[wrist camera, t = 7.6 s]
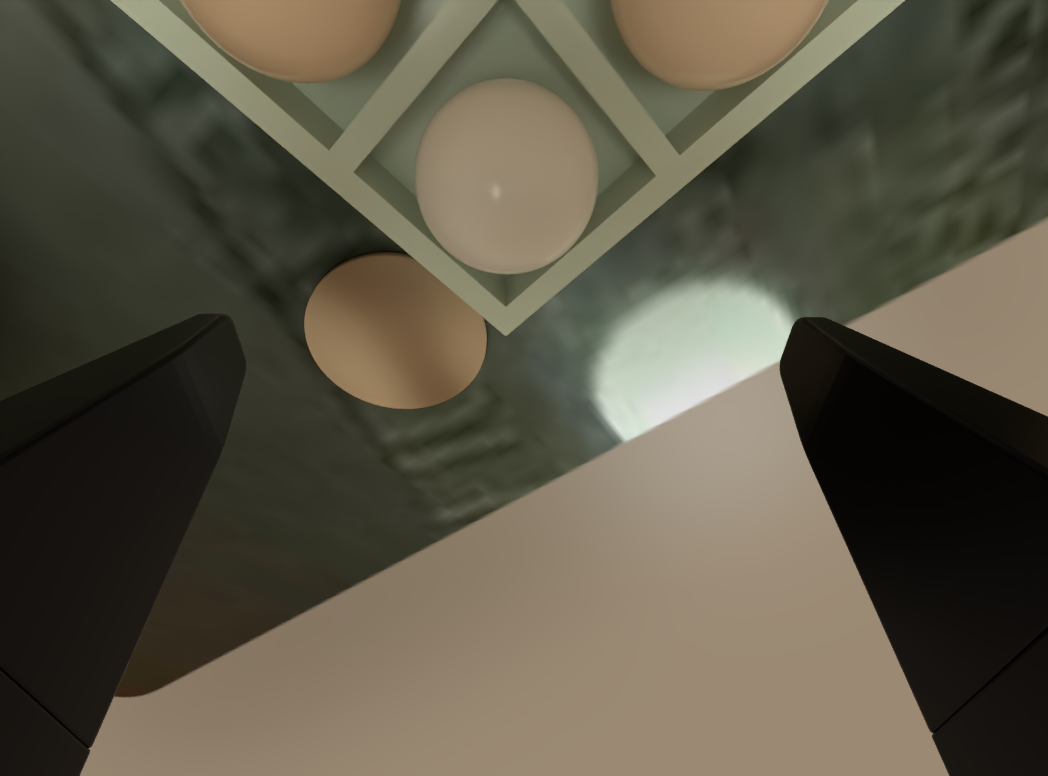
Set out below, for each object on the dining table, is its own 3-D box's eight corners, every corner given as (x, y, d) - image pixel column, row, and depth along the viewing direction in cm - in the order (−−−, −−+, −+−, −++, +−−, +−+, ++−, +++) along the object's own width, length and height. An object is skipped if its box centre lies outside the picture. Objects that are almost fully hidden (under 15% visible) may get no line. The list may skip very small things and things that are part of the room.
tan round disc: (410, 428, 26) (409, 434, 25) (271, 334, 22) (268, 339, 22) (523, 334, 23) (523, 340, 22) (381, 212, 20) (380, 216, 19)
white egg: (505, 261, 20) (508, 340, 16) (389, 154, 17) (359, 215, 13) (618, 156, 18) (654, 216, 14) (505, 19, 15) (509, 44, 11)
